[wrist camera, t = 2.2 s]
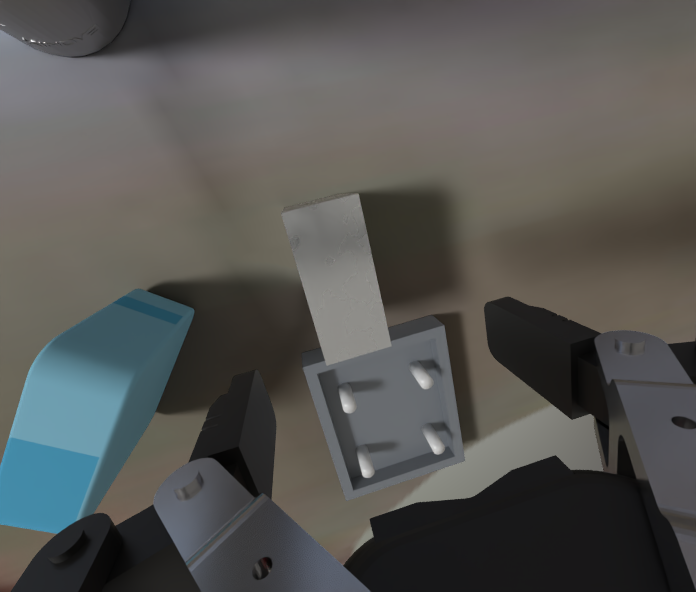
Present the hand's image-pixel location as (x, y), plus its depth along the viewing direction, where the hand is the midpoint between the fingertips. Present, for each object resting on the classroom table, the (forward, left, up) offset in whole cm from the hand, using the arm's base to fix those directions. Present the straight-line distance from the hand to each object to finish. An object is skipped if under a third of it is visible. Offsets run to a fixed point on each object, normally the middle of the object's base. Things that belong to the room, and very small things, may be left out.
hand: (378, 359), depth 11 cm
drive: (0, 0, -18) cm, 18 cm away
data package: (+4, -17, -19) cm, 25 cm away
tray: (+16, +2, -18) cm, 24 cm away
